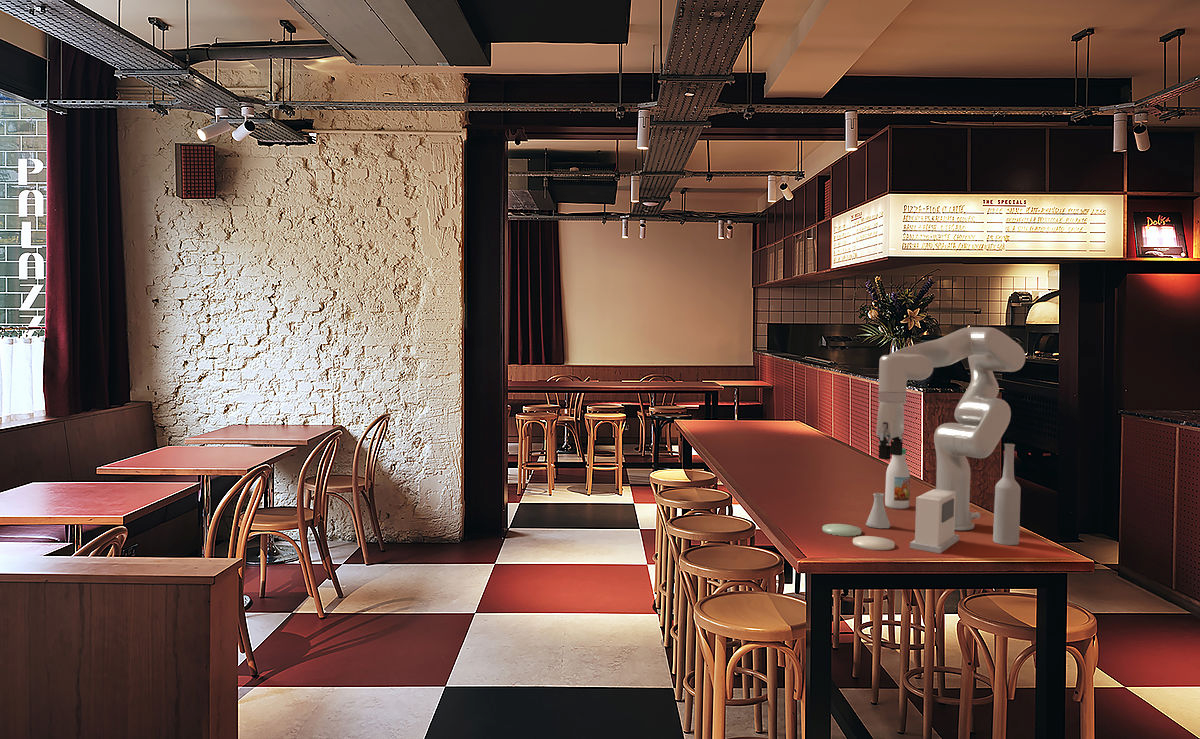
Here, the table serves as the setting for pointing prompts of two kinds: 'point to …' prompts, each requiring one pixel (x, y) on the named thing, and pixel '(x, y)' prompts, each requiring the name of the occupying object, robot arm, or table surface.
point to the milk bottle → (897, 483)
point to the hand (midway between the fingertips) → (890, 457)
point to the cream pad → (873, 543)
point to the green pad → (841, 529)
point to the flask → (878, 513)
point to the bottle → (1007, 503)
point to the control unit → (935, 521)
